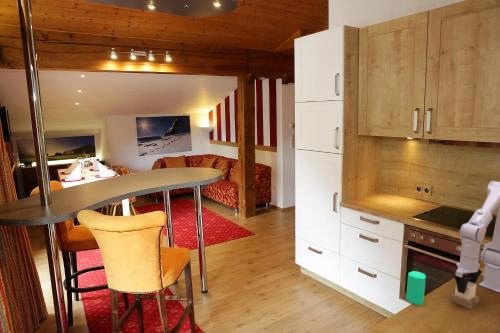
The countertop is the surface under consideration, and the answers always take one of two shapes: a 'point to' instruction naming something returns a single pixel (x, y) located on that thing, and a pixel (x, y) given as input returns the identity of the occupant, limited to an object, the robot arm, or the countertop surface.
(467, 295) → the block
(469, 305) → the stand
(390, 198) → the countertop surface
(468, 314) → the countertop surface
